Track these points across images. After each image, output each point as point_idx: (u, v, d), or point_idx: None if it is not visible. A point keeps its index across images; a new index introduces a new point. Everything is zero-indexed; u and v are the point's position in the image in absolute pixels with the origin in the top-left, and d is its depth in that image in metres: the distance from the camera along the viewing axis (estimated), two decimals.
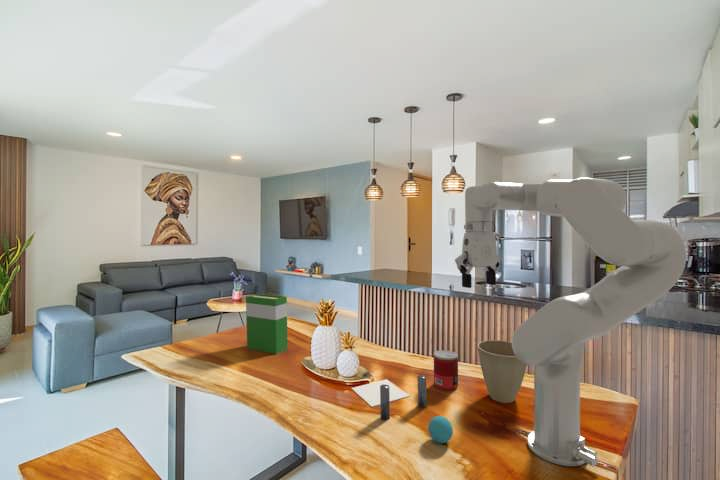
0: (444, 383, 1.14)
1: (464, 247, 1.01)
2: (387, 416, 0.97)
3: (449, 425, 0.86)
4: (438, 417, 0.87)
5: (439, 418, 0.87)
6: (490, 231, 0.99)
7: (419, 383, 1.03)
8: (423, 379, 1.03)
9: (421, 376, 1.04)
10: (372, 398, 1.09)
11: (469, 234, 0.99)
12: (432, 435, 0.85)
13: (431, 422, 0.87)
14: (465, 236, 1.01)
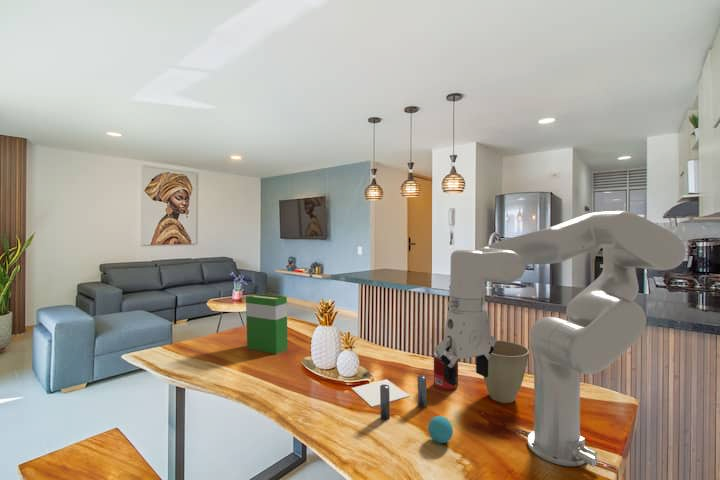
0: (444, 383, 1.14)
1: (447, 330, 0.77)
2: (387, 416, 0.97)
3: (449, 425, 0.86)
4: (438, 417, 0.87)
5: (439, 418, 0.87)
6: (482, 311, 0.76)
7: (419, 383, 1.03)
8: (423, 379, 1.03)
9: (421, 376, 1.04)
10: (372, 398, 1.09)
11: (454, 314, 0.76)
12: (432, 435, 0.85)
13: (431, 422, 0.87)
14: (449, 315, 0.77)
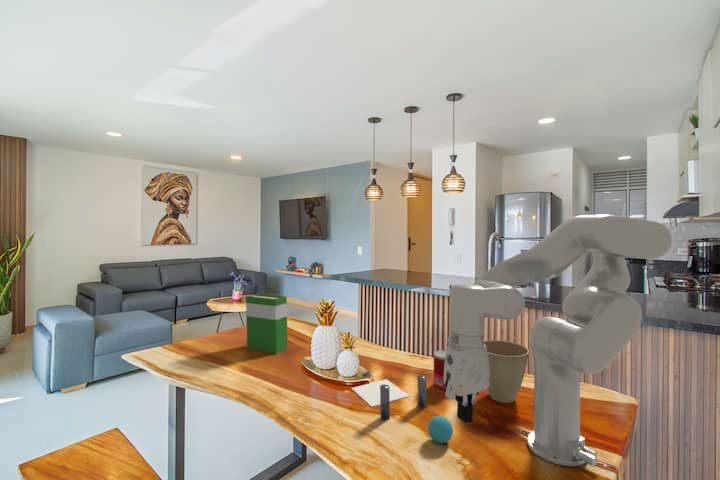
0: None
1: (447, 366, 0.76)
2: (387, 416, 0.97)
3: (449, 425, 0.86)
4: (438, 417, 0.87)
5: (439, 418, 0.87)
6: (481, 348, 0.75)
7: (419, 383, 1.03)
8: (423, 379, 1.03)
9: (421, 376, 1.04)
10: (372, 398, 1.09)
11: (454, 351, 0.75)
12: (432, 435, 0.85)
13: (431, 422, 0.87)
14: (448, 351, 0.76)
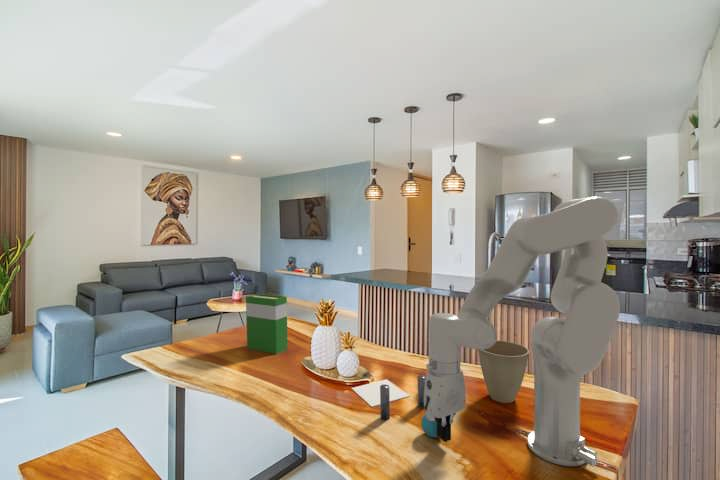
0: None
1: (426, 390, 0.83)
2: (387, 416, 0.97)
3: None
4: None
5: None
6: (457, 373, 0.82)
7: (419, 383, 1.03)
8: (423, 379, 1.03)
9: (421, 376, 1.04)
10: (372, 398, 1.09)
11: (432, 377, 0.82)
12: (425, 429, 0.88)
13: None
14: (428, 376, 0.83)
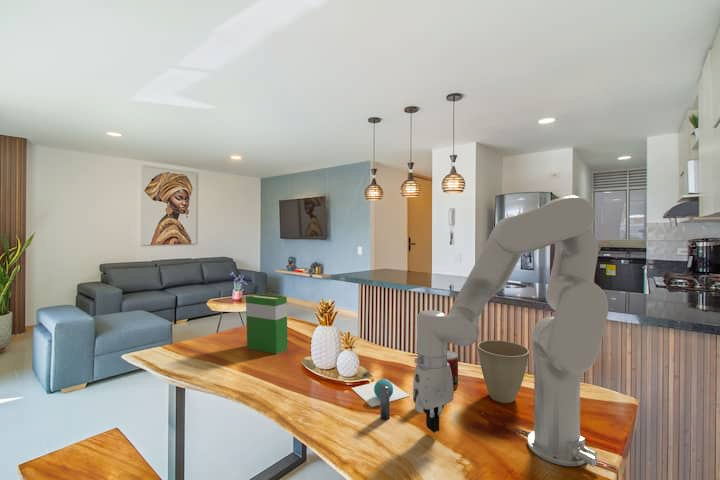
0: None
1: (415, 383, 0.88)
2: (387, 416, 0.97)
3: None
4: None
5: None
6: (444, 367, 0.86)
7: None
8: None
9: None
10: (372, 398, 1.09)
11: (420, 370, 0.86)
12: (376, 390, 1.07)
13: None
14: (416, 370, 0.88)
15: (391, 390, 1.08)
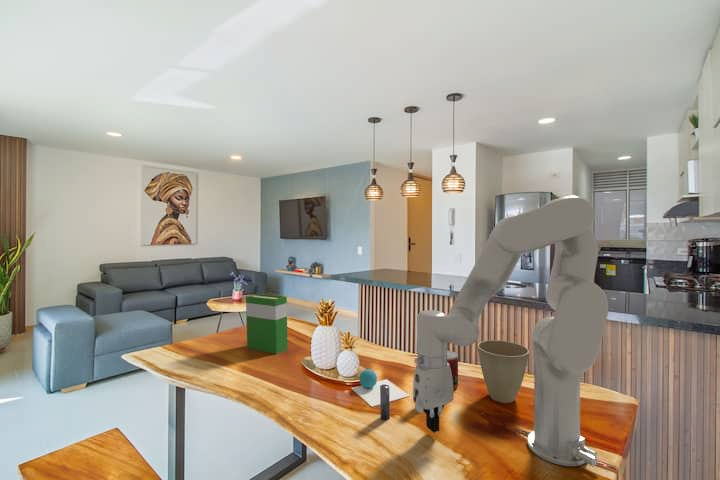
0: None
1: (415, 383, 0.88)
2: (387, 416, 0.97)
3: (374, 384, 1.16)
4: (371, 376, 1.15)
5: (371, 378, 1.15)
6: (444, 367, 0.86)
7: None
8: None
9: None
10: (372, 398, 1.09)
11: (420, 370, 0.86)
12: (360, 381, 1.16)
13: (364, 376, 1.15)
14: (416, 370, 0.88)
15: None
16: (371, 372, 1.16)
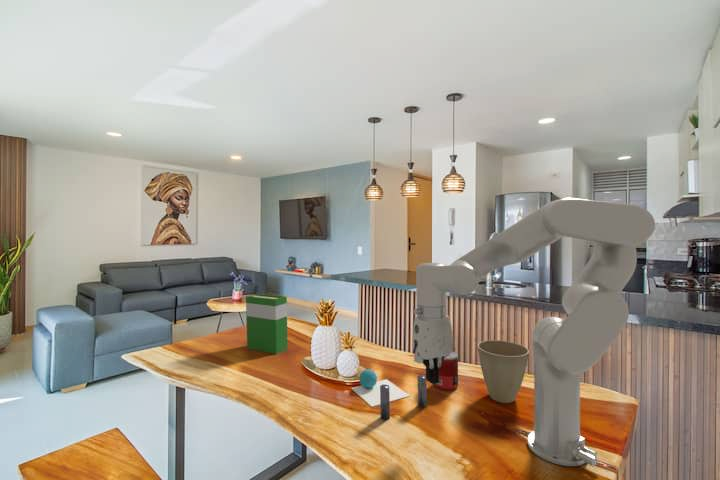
0: (444, 383, 1.14)
1: (414, 334, 0.87)
2: (387, 416, 0.97)
3: (374, 384, 1.16)
4: (371, 376, 1.15)
5: (371, 378, 1.15)
6: (443, 317, 0.86)
7: (419, 383, 1.03)
8: (423, 379, 1.03)
9: (421, 376, 1.04)
10: (372, 398, 1.09)
11: (419, 321, 0.86)
12: (360, 381, 1.16)
13: (364, 376, 1.15)
14: (415, 322, 0.88)
15: None
16: (371, 372, 1.16)
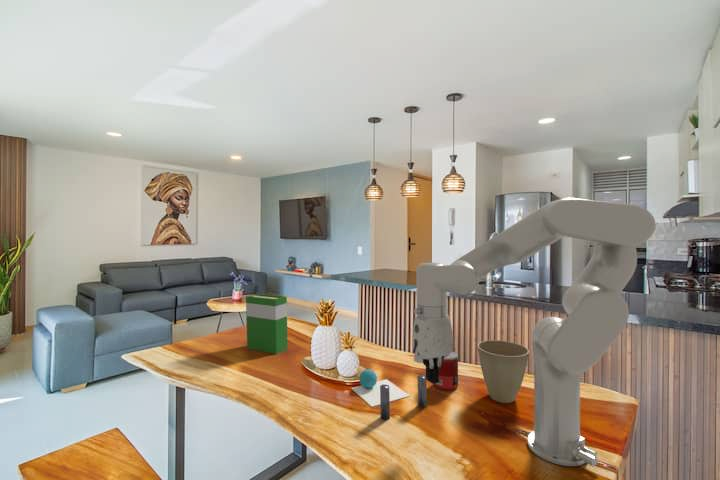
0: (444, 383, 1.14)
1: (414, 334, 0.87)
2: (387, 416, 0.97)
3: (374, 384, 1.16)
4: (371, 376, 1.15)
5: (371, 378, 1.15)
6: (443, 317, 0.86)
7: (419, 383, 1.03)
8: (423, 379, 1.03)
9: (421, 376, 1.04)
10: (372, 398, 1.09)
11: (419, 320, 0.86)
12: (360, 381, 1.16)
13: (364, 376, 1.15)
14: (415, 321, 0.88)
15: None
16: (371, 372, 1.16)
